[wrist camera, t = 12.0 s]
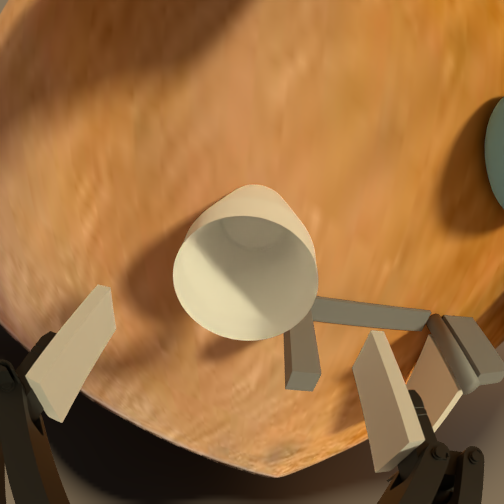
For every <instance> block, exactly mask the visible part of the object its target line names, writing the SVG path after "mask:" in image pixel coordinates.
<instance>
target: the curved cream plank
mask: <svg viewBox="0 0 504 504" xmlns="http://www.w3.org/2000/svg"><path fill="white" fill-rule="evenodd" d="M406 387H407V390H415V391H416V392H417V393H418V394H419V396H420V397H421V399H422V401H423V404H424V408H425V409H426V412H427V415H428V417H429V420H430V422H431V425H432V428H433V431H434V432H435V431H436V430H437V428H438V427H439V426H440V424H441V423H442V422H443V421H444V419H445V418H446V417H447V415H448V414H449V412H450V411H451V410H452V408H453V407H454V405H455V404H456V403H457V401H458V400H459V398H460V397H461V395H462V394H463V392H462V390H461V388H460V386H459V384H458V382H457V380H456V378H455V376H454V374H453V372H452V370H451V368H450V366H449V364H448V363H447V361H446V359H445V357H444V355H443V353H442V351H441V350H440V348H439V346H438V344H437V342H436V341H435V339H434V337H433V335H432V334H429V335H428V337H427V340H426V342H425V345H424V347H423V350H422V352H421V354H420V357H419V359H418V361H417V363H416V365H415V368H414V370H413V372H412V374H411V376H410V378H409V380H408V382H407V384H406Z"/></svg>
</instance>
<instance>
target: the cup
mask: <svg viewBox="0 0 504 504" xmlns="http://www.w3.org/2000/svg"><path fill="white" fill-rule="evenodd" d="M173 283H174V288H175V292H176V294H177V297H178V299H179V301H180V303H181V305H182V306H183V308H184V309H185V311H186V312H187V313H188V314H189V315H190V317H191V318H192V319H193V320H195V321H196V322H197V323H198V324H199V325H201V326H202V327H204V328H205V329H207V330H209V331H211V332H213V333H215V334H217V335H220V336H223V337H226V338H230V339H235V340H244V341H255V340H263V339H268V338H272V337H275V336H278V335H280V334H282V333H284V332H286V331H288V330H290V329H291V328H293V327H294V326H296V325H297V324H298V323H299V322H300V321H301V320H302V319H303V318H304V317H305V316H306V315H307V313H308V312H309V310H310V309H311V307H312V305H313V303H314V301H315V298H316V295H317V290H318V271H317V265H316V258H315V250H314V245H313V242H312V239H311V237H310V235H309V233H308V231H307V229H306V228H305V226H304V225H303V223H302V222H301V221H300V219H299V218H298V217H297V215H296V214H295V213H294V212H293V210H292V209H291V208H290V207H289V205H288V204H287V203H286V202H285V200H284V199H283V198H282V197H281V196H280V195H279V194H278V193H277V192H276V191H274V190H273V189H271V188H268V187H266V186H262V185H246V186H243V187H240V188H238V189H236V190H234V191H233V192H231V193H230V194H228V195H227V196H225V197H224V198H222V199H221V200H219V201H218V202H217V203H215V204H214V205H212V206H211V207H209V208H208V209H207V210H205V211H204V212H203V213H202V214H201V215H200V216H199V217H198V218H197V219H196V220H195V221H194V223H193V224H192V225H191V227H190V229H189V230H188V232H187V234H186V237H185V239H184V242H183V244H182V246H181V247H180V249H179V251H178V254H177V256H176V259H175V262H174V267H173Z"/></svg>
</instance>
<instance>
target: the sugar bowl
mask: <svg viewBox="0 0 504 504" xmlns="http://www.w3.org/2000/svg"><path fill="white" fill-rule="evenodd" d="M485 163H486V169H487V174H488V178H489V182H490V185H491V188H492V191H493V193H494V195H495V197H496V199H497V201H498V202H499V204H500V205H501V206H502V208H503V209H504V97H503V98H502V99H501V100H500V101H499V102H498V103H497V105H496V107H495V108H494V110H493V112H492V114H491V116H490V119H489V122H488V126H487V130H486V136H485Z"/></svg>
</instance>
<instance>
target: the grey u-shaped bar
mask: <svg viewBox="0 0 504 504" xmlns="http://www.w3.org/2000/svg"><path fill="white" fill-rule="evenodd" d="M430 314H431V312H430V310H421V309H412V308H404V307H395V306H387V305H379V304H371V303H363V302H355V301H348V300H341V299H333V298H326V297H319V296H316V298H315V301H314V303H313V305H312V307H311V309H310V310H309V312H308V313H307V315H306V316H305V317H304V318H303V319H302V320H301V321H300V322H299V323H298V324H297V325H296V326H294V327H293V328H291V329H290V330H288V331H286V332H284V360H285V389H290V390H301V391H313V390H314V388H315V386H316V384H317V382H318V380H319V378H320V376H321V368H320V361H319V355H318V349H317V342H316V336H315V330H314V324H313V321H320V322H328V323H337V324H345V325H355V326H365V327H375V328H386V329H398V330H411V331H422V329H423V327H424V325H425V324H426V325H427V327H428V329H429V330H430V332H431V334H432V335H433V337H434V339H435V341H436V342H437V344H438V346H439V348H440V350H441V351H442V353H443V355H444V357H445V359H446V361H447V363H448V364H449V366H450V368H451V370H452V372H453V374H454V376H455V378H456V380H457V382H458V384H459V386H460V388H461V390H462V392H463V394H469V393H471V392H472V391H474V390H475V389H476V388H477V387H478V386H479V385H484V384H491V383H497V382H500V381H501V380H502V378H503V377H504V362H503V361H502V359H501V358H500V356H499V355H498V353H497V352H496V350H495V349H494V347H493V346H492V344H491V343H490V341H489V340H488V338H487V337H486V336H485V334H484V333H483V331H482V330H481V329H480V327H479V326H478V325H477V323H476V322H475V320H474V319H473V318H471V317H459V316H448V315H444V316H443V318H441V317H440V315H439V314H433V315H431V316H430ZM429 316H430V317H429Z"/></svg>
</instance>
